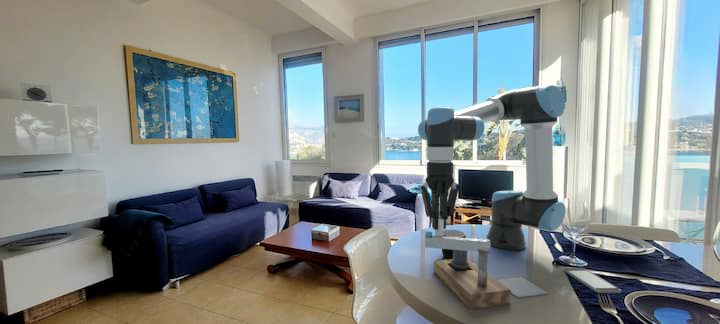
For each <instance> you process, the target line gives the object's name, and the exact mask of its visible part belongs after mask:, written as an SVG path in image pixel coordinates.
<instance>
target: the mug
mask: <svg viewBox="0 0 720 324" xmlns="http://www.w3.org/2000/svg"><path fill="white" fill-rule="evenodd" d="M443 236H445V237H459V238H467V234H466V232H464V231H462V230H460V229H459V230H458V229H452V228H451V229H450V228H449V229H444V234H443ZM441 252H442V257H443V260H447V259H453V250H452V249H441Z"/></svg>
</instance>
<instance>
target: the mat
mask: <svg viewBox="0 0 720 324" xmlns="http://www.w3.org/2000/svg"><path fill="white" fill-rule="evenodd" d="M497 280H498V281H499V282H501V283H502V284H503V285H505V286H506V287H508V288H509V289H510V290H511V294H510V295H512V296H514V297H515V298H517V299H522V298H528V297H537V296H542V295H543V296H544V295H548V292H547V291H545V290H543V289H542V288H540V287H539V286H537V285H536V284H534V283H532V282H531V281H529V280H527V279H526V278H524V277H522V276H518V277H510V278H501V279H500V278H499V279H497Z"/></svg>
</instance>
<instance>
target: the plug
mask: <svg viewBox="0 0 720 324" xmlns="http://www.w3.org/2000/svg"><path fill="white" fill-rule="evenodd" d="M468 252H469V251H464V250H453V260H452V261H451V266H452V267H453V270H455V271H456V272H458V271H467V269H468V268H469V263H468V262H467V259H468Z"/></svg>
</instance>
